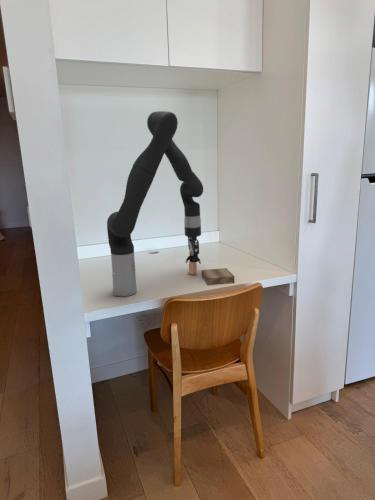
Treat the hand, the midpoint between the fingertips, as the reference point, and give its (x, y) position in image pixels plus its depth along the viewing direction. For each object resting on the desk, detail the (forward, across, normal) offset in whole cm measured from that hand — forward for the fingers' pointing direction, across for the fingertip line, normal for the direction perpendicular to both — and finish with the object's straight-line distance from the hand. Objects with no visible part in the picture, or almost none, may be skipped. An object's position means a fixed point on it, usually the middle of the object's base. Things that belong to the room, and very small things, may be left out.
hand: (193, 259), depth 161 cm
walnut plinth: (+7, +10, +9) cm, 15 cm away
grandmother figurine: (+8, 0, 0) cm, 8 cm away
